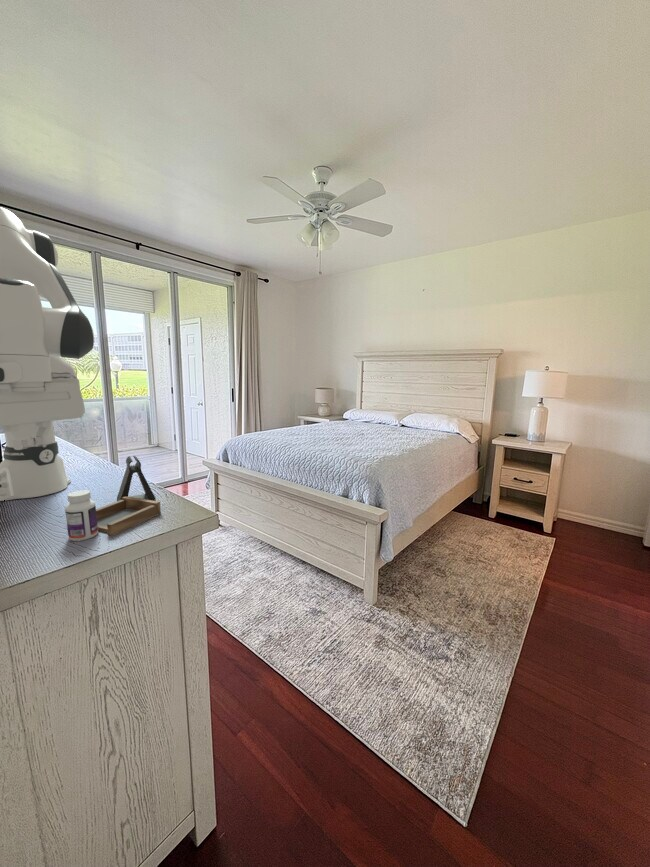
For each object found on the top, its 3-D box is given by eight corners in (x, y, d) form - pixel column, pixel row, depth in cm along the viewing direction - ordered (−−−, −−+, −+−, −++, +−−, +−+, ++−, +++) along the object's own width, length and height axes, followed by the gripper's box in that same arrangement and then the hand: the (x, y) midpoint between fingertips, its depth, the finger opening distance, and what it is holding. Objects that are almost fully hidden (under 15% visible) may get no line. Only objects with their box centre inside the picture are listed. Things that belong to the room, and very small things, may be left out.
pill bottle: (91, 528, 81) (87, 487, 79) (103, 534, 78) (98, 492, 76) (64, 537, 77) (58, 493, 75) (74, 544, 74) (69, 499, 72)
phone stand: (118, 506, 94) (114, 462, 92) (116, 499, 99) (113, 457, 97) (155, 499, 99) (152, 458, 97) (152, 493, 104) (149, 453, 102)
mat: (87, 525, 82) (87, 524, 82) (126, 509, 92) (126, 508, 92) (114, 531, 80) (114, 530, 79) (152, 514, 89) (152, 513, 89)
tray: (75, 527, 81) (73, 515, 81) (126, 507, 94) (125, 496, 93) (112, 535, 77) (110, 522, 77) (160, 513, 90) (159, 501, 90)
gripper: (67, 372, 75) (74, 437, 77) (-66, 371, 56) (-51, 457, 58) (88, 372, 73) (95, 439, 75) (-42, 372, 54) (-28, 461, 56)
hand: (30, 447), depth 66 cm, fingers closed
